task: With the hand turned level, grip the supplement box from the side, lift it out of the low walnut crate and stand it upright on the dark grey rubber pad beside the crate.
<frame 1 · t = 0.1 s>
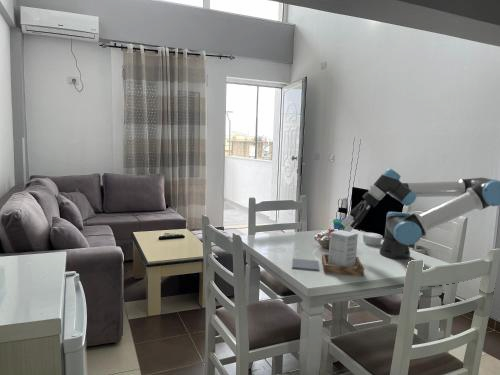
hand: (344, 228, 189), 15 cm above the table, tool tilted 35°, fingers open, 13 cm apart
ramekin: (371, 244, 221), on the table
supplement box: (341, 268, 175), resting in walnut crate
grey pad: (305, 265, 176), on the table
walnut crate: (341, 268, 175), on the table
snack cup: (340, 237, 233), on the table
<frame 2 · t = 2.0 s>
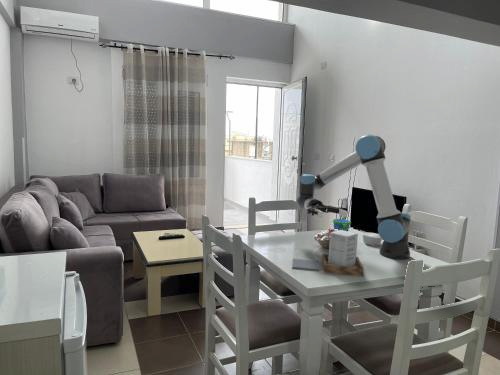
hand: (334, 214, 181), 23 cm above the table, tool horizontal, fingers open, 13 cm apart
nothing on the table moved.
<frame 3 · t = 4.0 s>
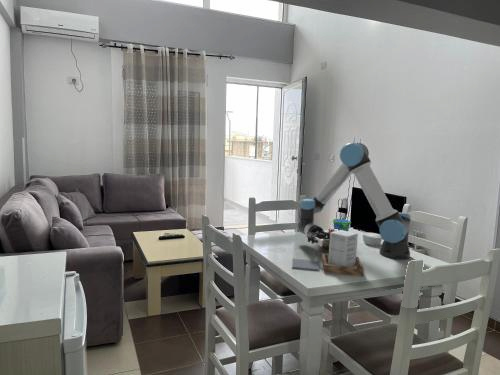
hand: (334, 243, 180), 10 cm above the table, tool horizontal, fingers open, 13 cm apart
nothing on the table moved.
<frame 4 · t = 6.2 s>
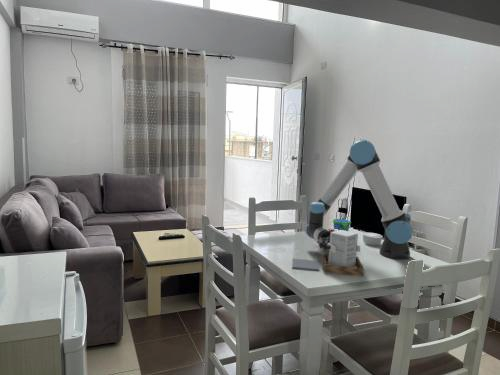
hand: (347, 249, 170), 10 cm above the table, tool horizontal, fingers closed on supplement box, 12 cm apart
supplement box: (341, 268, 175), resting in walnut crate, touching gripper
everything else where it was.
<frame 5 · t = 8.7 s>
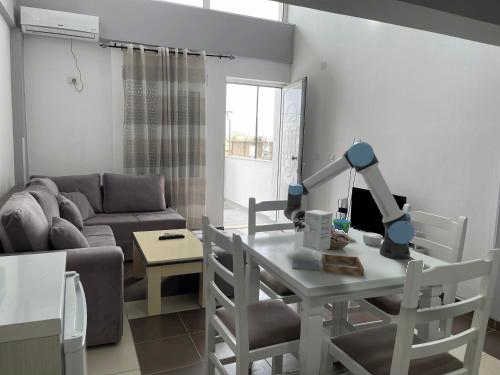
hand: (321, 228, 170), 19 cm above the table, tool horizontal, fingers closed on supplement box, 12 cm apart
supplement box: (316, 248, 175), point 9 cm above the table, touching gripper
everything else where it was.
when the fingers open (11 cm above the table, at t = 11.3 s): supplement box stays where it is, resting on grey pad.
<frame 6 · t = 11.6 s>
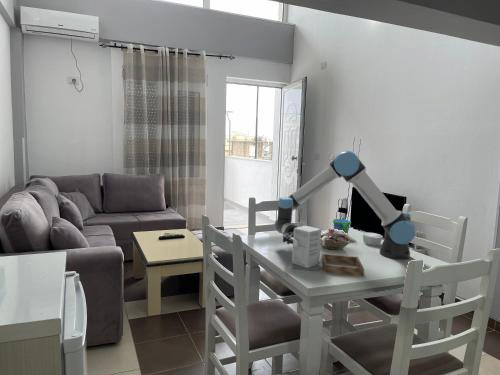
hand: (310, 243, 171), 11 cm above the table, tool horizontal, fingers open, 13 cm apart
supplement box: (305, 264, 176), point 1 cm above the table, touching grey pad
everything else where it was.
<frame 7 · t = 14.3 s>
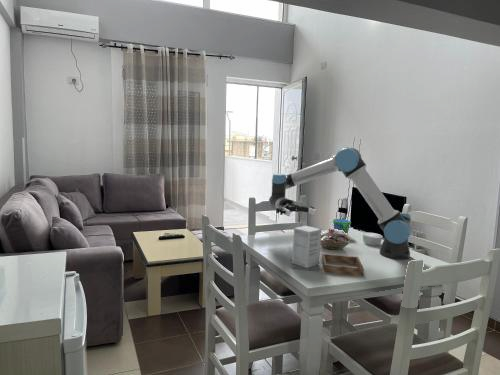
hand: (302, 213, 179), 23 cm above the table, tool horizontal, fingers open, 13 cm apart
nothing on the table moved.
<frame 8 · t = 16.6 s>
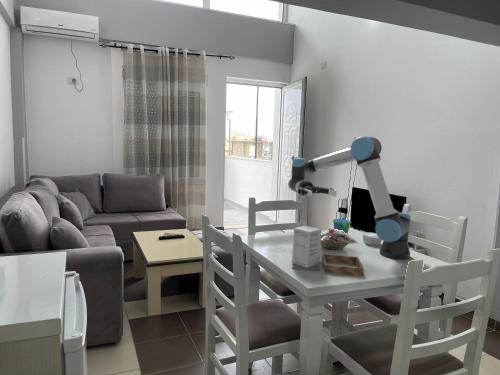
hand: (323, 193, 186), 32 cm above the table, tool horizontal, fingers open, 13 cm apart
nothing on the table moved.
at the end: supplement box inside the target area on the grey pad (0.1 cm from its centre), point 0.6 cm above the grey pad's base; supplement box tilted 0°; the gripper is holding nothing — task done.
